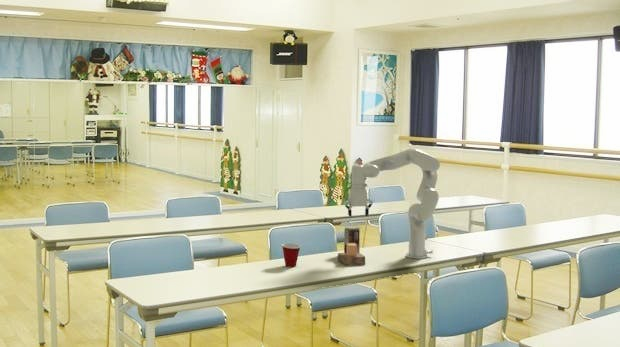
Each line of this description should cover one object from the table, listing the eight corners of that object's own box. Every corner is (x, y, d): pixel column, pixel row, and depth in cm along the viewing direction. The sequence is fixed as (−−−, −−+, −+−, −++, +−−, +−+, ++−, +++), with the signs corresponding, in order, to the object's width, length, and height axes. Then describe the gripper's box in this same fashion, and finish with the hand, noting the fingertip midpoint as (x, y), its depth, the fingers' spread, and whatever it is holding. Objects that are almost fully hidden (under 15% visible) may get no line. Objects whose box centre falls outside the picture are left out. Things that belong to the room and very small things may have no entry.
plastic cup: (298, 269, 367) (298, 247, 366) (279, 267, 369) (279, 246, 368) (302, 264, 378) (303, 243, 376) (284, 263, 380) (284, 242, 379)
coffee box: (359, 254, 405) (360, 228, 403) (359, 257, 398) (359, 230, 397) (344, 254, 405) (344, 227, 404) (343, 256, 399) (344, 229, 397)
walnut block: (357, 260, 391) (357, 252, 391) (364, 265, 380) (365, 256, 379) (337, 261, 388) (338, 253, 387) (344, 266, 376) (345, 257, 376)
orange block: (355, 253, 386) (355, 243, 385) (356, 255, 381) (356, 245, 380) (346, 253, 385) (346, 243, 385) (348, 255, 380) (348, 245, 380)
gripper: (371, 185, 393) (371, 214, 395) (342, 186, 390) (342, 215, 392) (374, 186, 385) (374, 216, 387) (345, 187, 382) (345, 217, 384)
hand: (358, 216), depth 389 cm, fingers open, 9 cm apart
